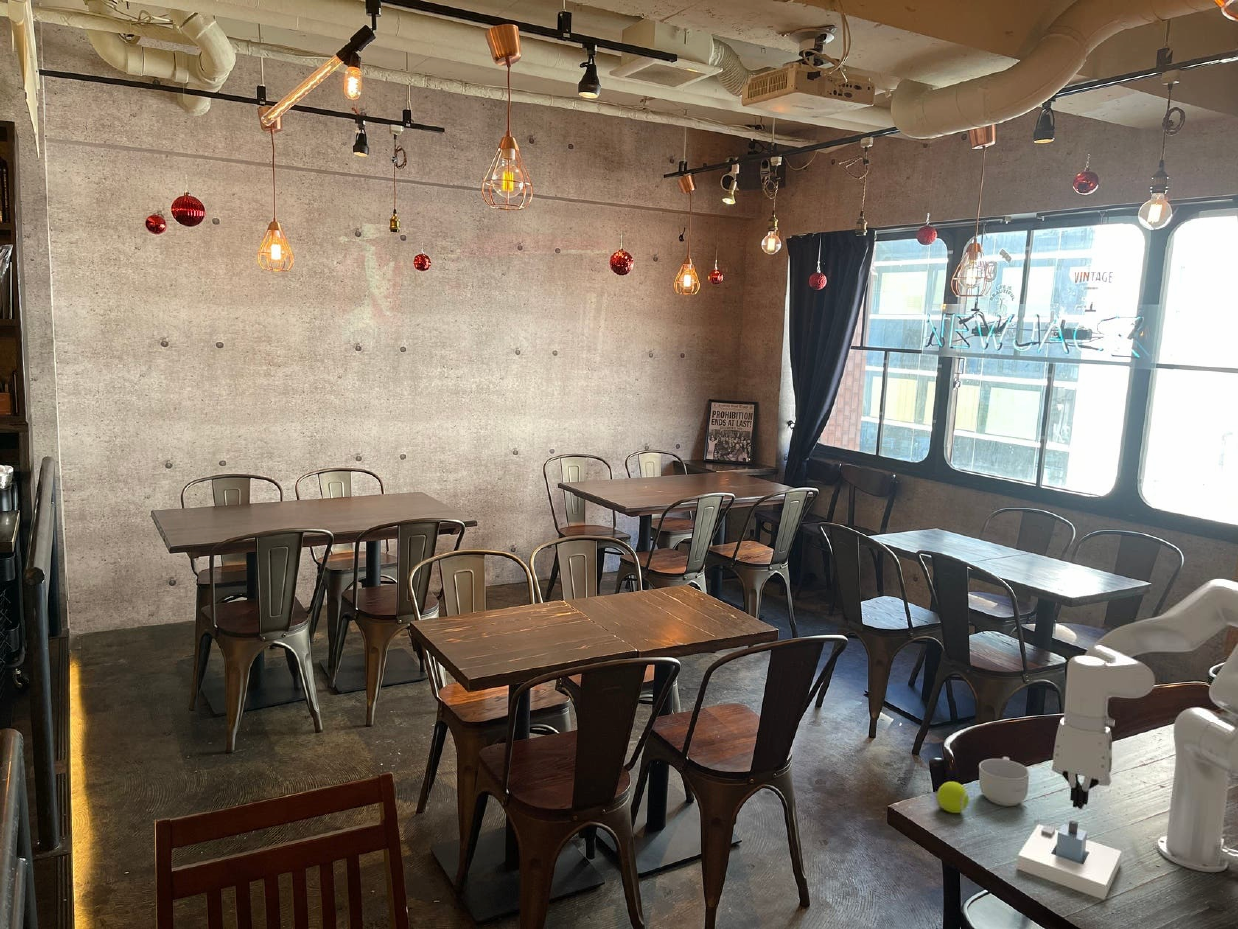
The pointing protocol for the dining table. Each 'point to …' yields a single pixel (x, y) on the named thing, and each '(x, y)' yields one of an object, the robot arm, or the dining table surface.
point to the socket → (1069, 863)
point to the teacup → (1003, 781)
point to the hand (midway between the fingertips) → (1078, 805)
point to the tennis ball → (953, 797)
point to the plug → (1071, 842)
